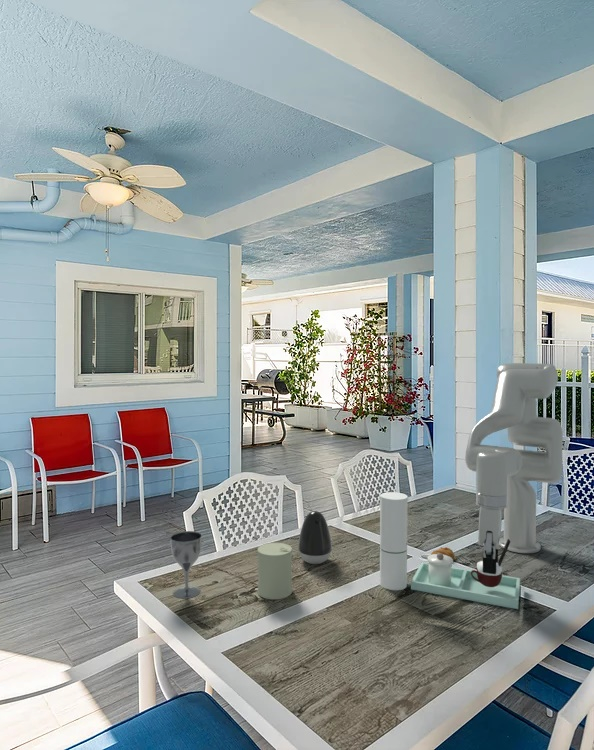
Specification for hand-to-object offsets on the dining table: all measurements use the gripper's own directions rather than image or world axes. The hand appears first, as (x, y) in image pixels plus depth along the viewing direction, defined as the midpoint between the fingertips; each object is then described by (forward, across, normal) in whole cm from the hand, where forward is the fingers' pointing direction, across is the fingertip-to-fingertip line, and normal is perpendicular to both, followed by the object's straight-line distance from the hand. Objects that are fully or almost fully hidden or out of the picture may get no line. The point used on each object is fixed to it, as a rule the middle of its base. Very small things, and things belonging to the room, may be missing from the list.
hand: (490, 567), depth 136 cm
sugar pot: (+6, 0, -13) cm, 14 cm away
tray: (+7, 0, -6) cm, 9 cm away
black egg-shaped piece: (+8, -2, -50) cm, 51 cm away
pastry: (+8, -17, -15) cm, 24 cm away
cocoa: (+5, 0, 0) cm, 5 cm away
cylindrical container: (+8, +6, -24) cm, 26 cm away
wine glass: (+7, +31, -73) cm, 80 cm away
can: (+7, +21, -52) cm, 57 cm away
